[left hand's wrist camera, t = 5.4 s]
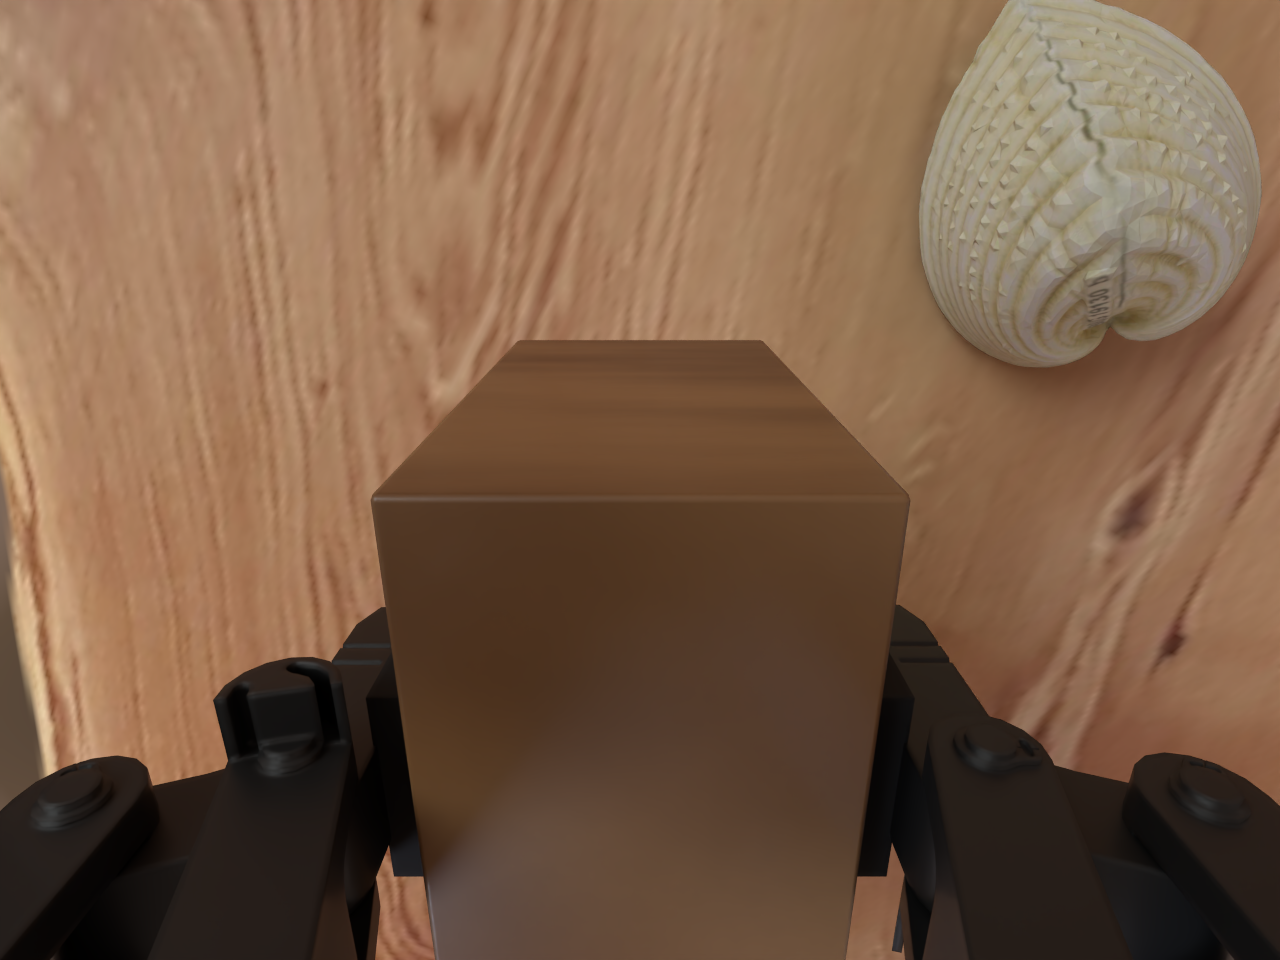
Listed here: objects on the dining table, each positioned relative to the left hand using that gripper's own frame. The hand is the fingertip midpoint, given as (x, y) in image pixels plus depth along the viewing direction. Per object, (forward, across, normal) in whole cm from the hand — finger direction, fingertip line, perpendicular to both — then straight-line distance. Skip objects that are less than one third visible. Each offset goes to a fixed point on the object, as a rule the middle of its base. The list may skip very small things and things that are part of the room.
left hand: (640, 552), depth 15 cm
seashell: (+10, +12, +7) cm, 17 cm away
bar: (+1, 0, -9) cm, 9 cm away
